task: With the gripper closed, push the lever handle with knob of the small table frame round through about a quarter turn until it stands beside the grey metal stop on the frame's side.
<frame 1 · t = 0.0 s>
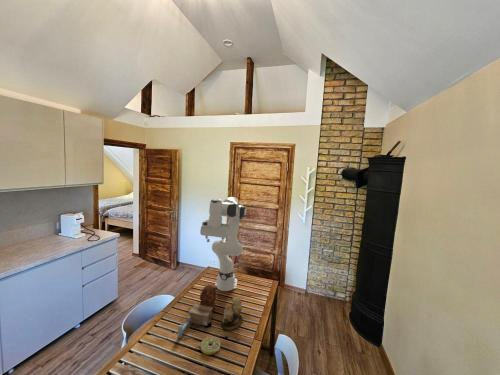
hand: (214, 242, 152), 48 cm above the table, fingers open, 8 cm apart
wooden figurine: (208, 310, 154), on the table
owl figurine: (232, 322, 144), on the table
decorated donut: (210, 349, 122), on the table
lever handle with knob: (184, 325, 133), point 4 cm above the table, hinge at 0.0°
table frame: (200, 319, 145), on the table
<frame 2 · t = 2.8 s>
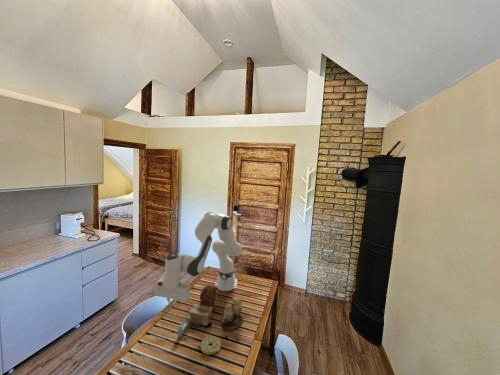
hand: (172, 304, 128), 19 cm above the table, fingers closed
nothing on the table moved.
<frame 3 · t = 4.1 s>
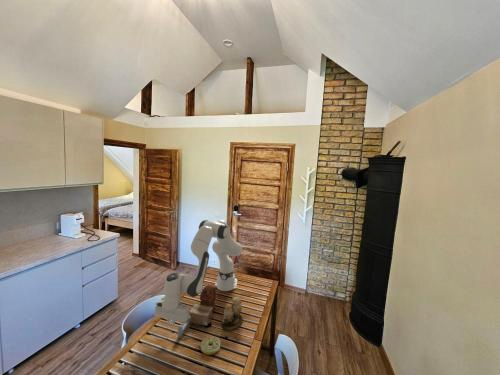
hand: (171, 325, 129), 7 cm above the table, fingers closed
nothing on the table moved.
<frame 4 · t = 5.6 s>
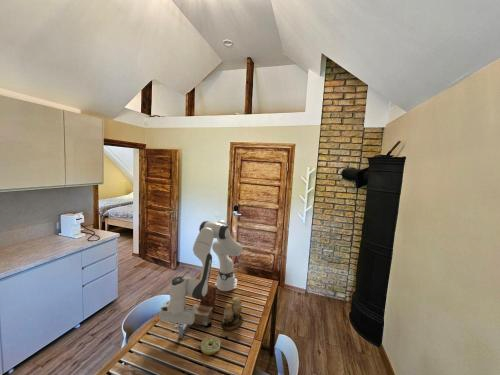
hand: (176, 328, 129), 5 cm above the table, fingers closed
lever handle with knob: (184, 325, 133), point 4 cm above the table, hinge at 2.6°, touching gripper
everything else where it was.
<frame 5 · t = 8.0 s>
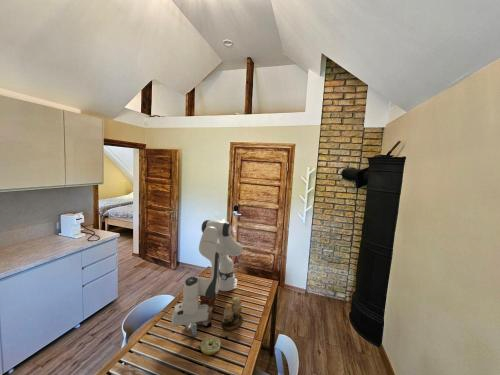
hand: (189, 329, 128), 5 cm above the table, fingers closed
lever handle with knob: (191, 325, 134), point 4 cm above the table, hinge at 46.9°, touching gripper
everything else where it was.
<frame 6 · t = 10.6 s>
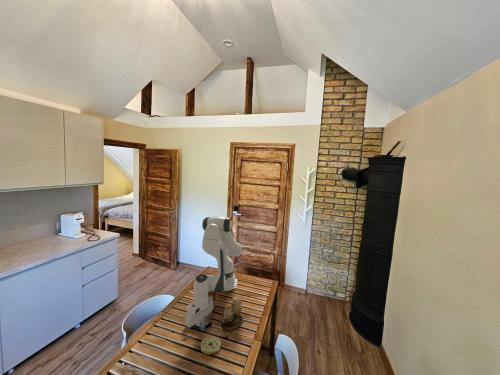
hand: (199, 324, 132), 5 cm above the table, fingers closed
lever handle with knob: (195, 322, 136), point 4 cm above the table, hinge at 84.8°, touching gripper
everything else where it was.
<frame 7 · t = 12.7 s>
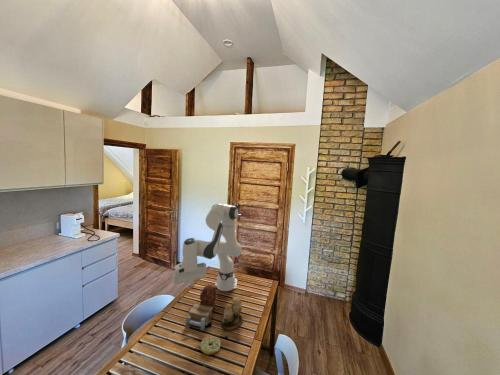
hand: (189, 287, 136), 25 cm above the table, fingers closed
lever handle with knob: (195, 322, 136), point 4 cm above the table, hinge at 84.8°
everything else where it was.
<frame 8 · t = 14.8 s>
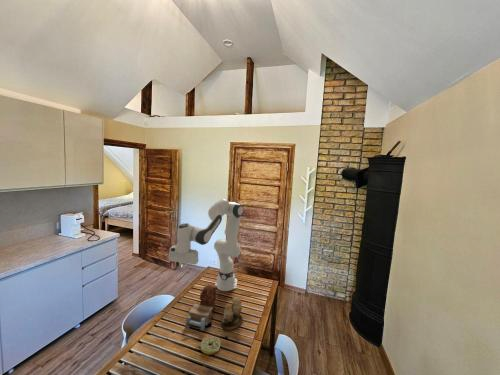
hand: (183, 268, 148), 31 cm above the table, fingers closed
nothing on the table moved.
at the end: lever handle with knob at +85° (first picture: +0°); the gripper is holding nothing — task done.
